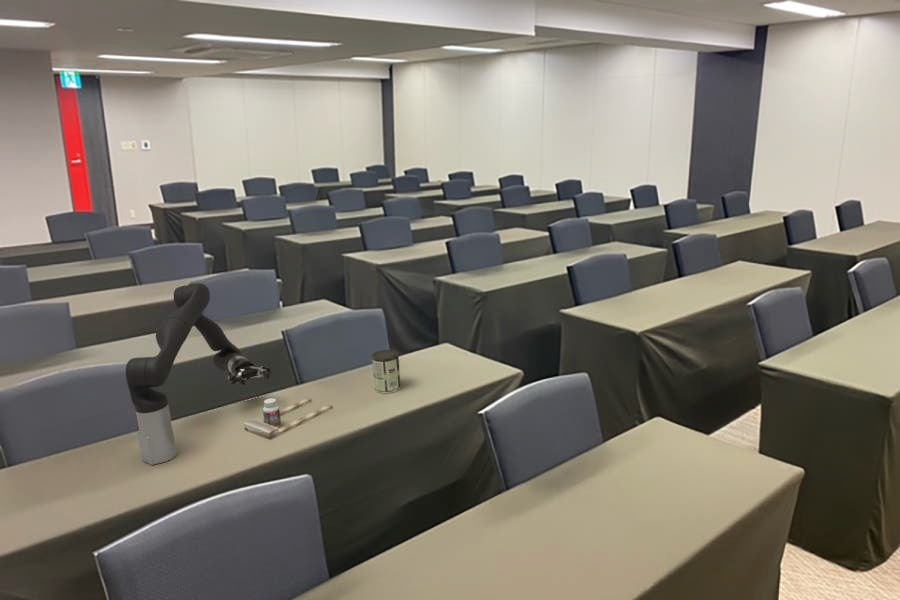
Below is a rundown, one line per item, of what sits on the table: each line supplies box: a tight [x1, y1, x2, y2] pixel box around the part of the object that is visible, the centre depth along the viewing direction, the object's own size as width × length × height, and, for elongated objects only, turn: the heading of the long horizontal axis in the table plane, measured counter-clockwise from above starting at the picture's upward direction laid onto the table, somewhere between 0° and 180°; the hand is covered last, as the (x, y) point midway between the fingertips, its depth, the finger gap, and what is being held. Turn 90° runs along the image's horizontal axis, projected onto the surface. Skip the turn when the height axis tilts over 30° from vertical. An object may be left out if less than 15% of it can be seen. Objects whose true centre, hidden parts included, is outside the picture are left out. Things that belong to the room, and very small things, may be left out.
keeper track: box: [243, 397, 333, 441], centre depth 222 cm, size 28×13×2 cm, turn 143°
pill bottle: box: [262, 398, 282, 429], centre depth 215 cm, size 5×5×10 cm
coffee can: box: [371, 349, 402, 394], centre depth 242 cm, size 10×10×14 cm
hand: (256, 379), depth 222 cm, fingers open, 8 cm apart
